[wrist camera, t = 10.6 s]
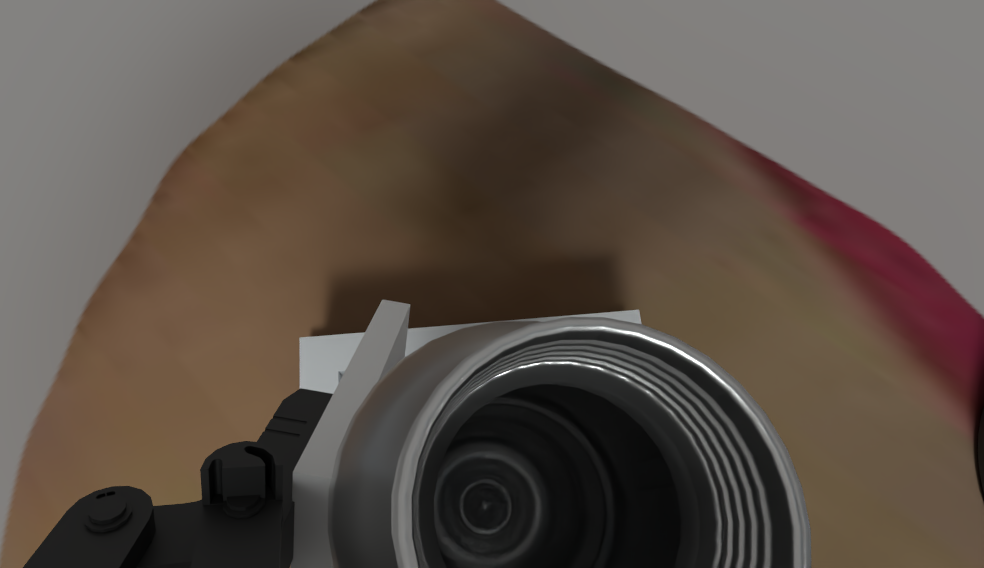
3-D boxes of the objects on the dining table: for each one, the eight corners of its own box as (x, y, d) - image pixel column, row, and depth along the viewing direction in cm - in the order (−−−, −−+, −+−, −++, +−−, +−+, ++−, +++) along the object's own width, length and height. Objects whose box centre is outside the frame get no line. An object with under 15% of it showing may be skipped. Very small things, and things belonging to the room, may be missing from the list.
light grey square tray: (624, 322, 30) (648, 297, 27) (685, 676, 26) (724, 706, 22) (309, 349, 29) (286, 326, 25) (311, 725, 24) (285, 766, 21)
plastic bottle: (528, 632, 23) (895, 1229, 4) (364, 545, 24) (32, 716, 5) (596, 467, 25) (1048, 360, 6) (444, 391, 26) (434, 81, 7)
